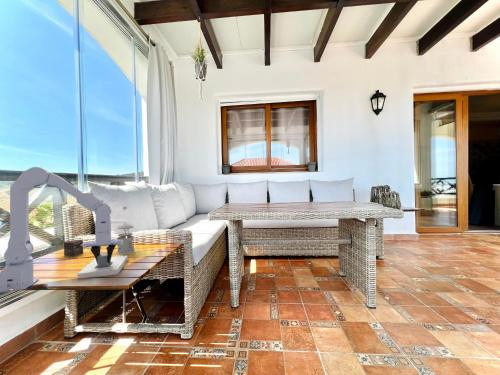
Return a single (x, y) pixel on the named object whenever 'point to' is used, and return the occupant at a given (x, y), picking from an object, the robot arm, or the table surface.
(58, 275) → the table surface
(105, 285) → the table surface
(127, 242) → the french press
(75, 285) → the table surface
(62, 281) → the table surface
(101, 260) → the block
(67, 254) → the box
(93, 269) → the base plate
